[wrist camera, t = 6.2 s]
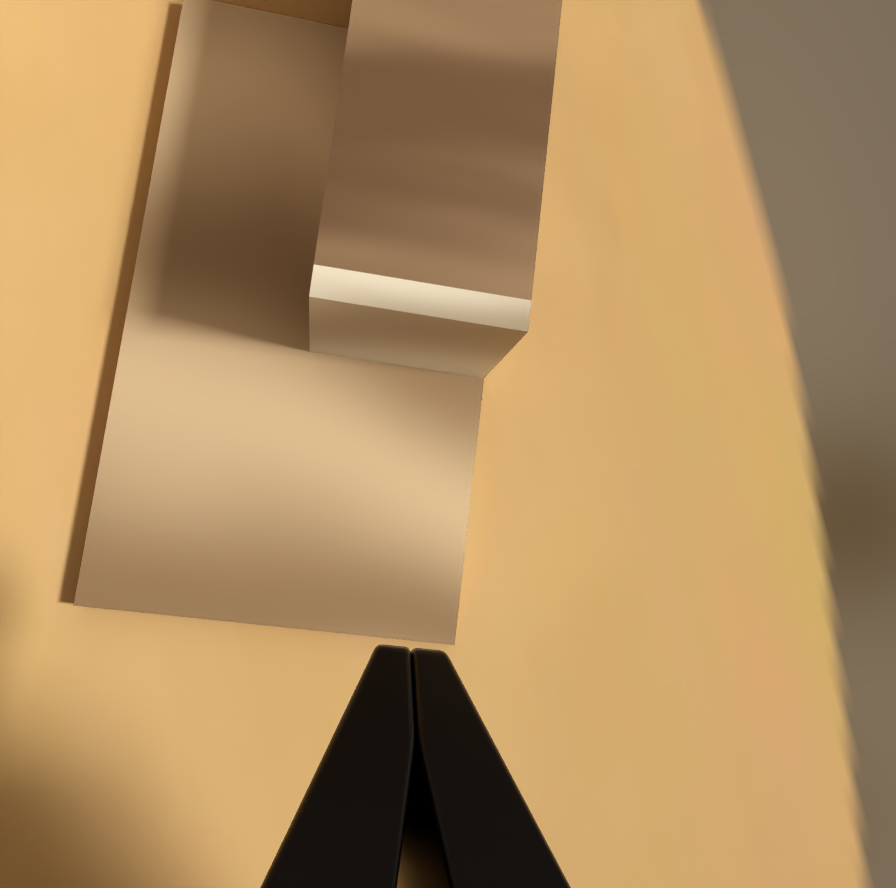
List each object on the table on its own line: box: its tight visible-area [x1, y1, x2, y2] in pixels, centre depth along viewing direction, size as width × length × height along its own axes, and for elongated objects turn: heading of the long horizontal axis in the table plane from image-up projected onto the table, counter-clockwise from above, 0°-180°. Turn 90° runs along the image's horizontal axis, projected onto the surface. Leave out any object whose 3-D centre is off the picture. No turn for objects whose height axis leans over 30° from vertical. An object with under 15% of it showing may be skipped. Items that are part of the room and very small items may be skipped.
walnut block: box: [309, 0, 562, 378], centre depth 18 cm, size 4×4×10 cm
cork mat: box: [74, 0, 484, 645], centre depth 19 cm, size 14×8×1 cm, turn 173°
